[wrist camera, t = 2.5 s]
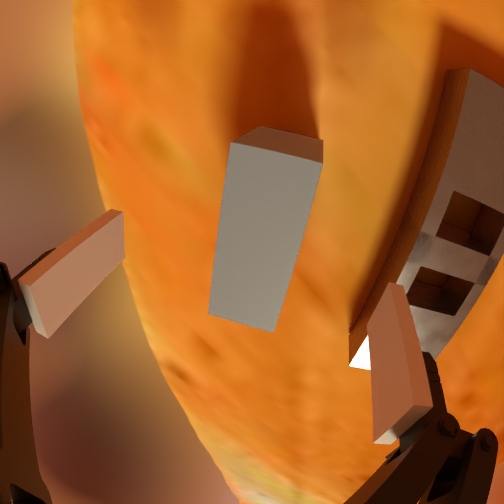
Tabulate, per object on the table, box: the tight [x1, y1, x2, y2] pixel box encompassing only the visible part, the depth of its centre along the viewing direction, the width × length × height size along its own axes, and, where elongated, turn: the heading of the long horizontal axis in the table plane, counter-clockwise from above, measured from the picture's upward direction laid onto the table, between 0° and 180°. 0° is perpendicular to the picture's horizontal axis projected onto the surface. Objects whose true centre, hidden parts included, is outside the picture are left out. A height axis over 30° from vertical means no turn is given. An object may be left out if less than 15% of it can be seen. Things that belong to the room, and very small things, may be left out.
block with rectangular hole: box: [349, 68, 504, 370], centre depth 20 cm, size 26×8×4 cm, turn 170°
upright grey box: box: [208, 126, 323, 333], centre depth 19 cm, size 10×4×10 cm, turn 170°
